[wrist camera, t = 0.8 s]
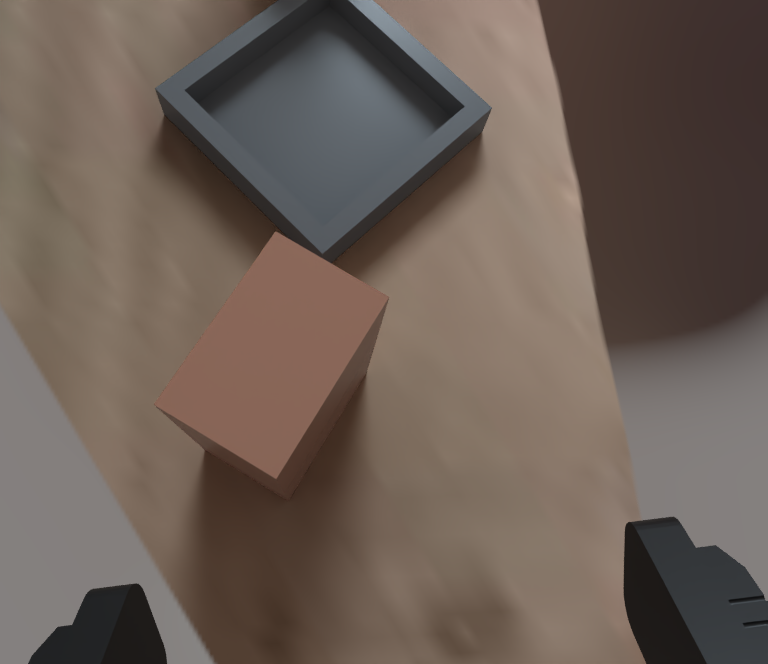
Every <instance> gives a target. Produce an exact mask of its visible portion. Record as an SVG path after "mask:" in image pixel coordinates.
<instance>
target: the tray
mask: <svg viewBox="0 0 768 664" xmlns="http://www.w3.org/2000/svg"><path fill="white" fill-rule="evenodd" d="M155 89H156V92H157V95H158V98H159V101H160V104H161V107H162V110H163V113H164V115H165V116H167V117H168V118H169V119H170V120H171V121H172V122H173V123H174V124H175V125H176V126H177V127H178V128H179V129H180V130H181V131H182V132H183V133H184V134H185V135H186V136H187V137H188V138H189V139H190V140H191V141H192V142H193V143H194V144H195V145H196V146H197V147H198V148H199V149H200V150H201V151H202V152H203V153H204V154H205V155H206V156H207V157H208V158H209V159H210V160H211V161H212V162H213V163H214V164H215V165H216V166H217V167H218V168H219V169H220V170H221V171H222V172H223V173H224V174H225V175H226V176H227V177H228V178H229V179H230V180H231V181H232V182H233V183H234V184H235V185H236V186H237V187H238V188H239V189H240V190H241V191H242V192H243V193H244V194H245V195H246V196H247V197H248V198H249V199H250V200H251V201H252V202H253V203H254V204H255V205H256V206H257V207H258V208H259V209H260V210H261V211H262V212H263V213H264V214H265V215H266V216H267V217H268V218H269V219H270V220H271V221H272V222H273V223H274V224H275V225H276V226H277V227H278V228H279V229H280V230H281V231H282V232H283V233H284V234H285V235H286V236H287V237H288V238H289V239H290V240H292V241H293V242H295V243H297V244H299V245H300V246H302V247H304V248H305V249H307V250H309V251H311V252H312V253H314V254H316V255H318V256H319V257H321V258H323V259H324V260H326V261H328V262H330V263H332V262H333V261H334V260H335V259H336V258H338V257H339V256H340V255H341V254H342V253H343V252H344V251H346V250H347V249H348V248H349V247H350V246H351V245H352V244H354V243H355V242H356V241H357V240H358V239H359V238H361V237H362V236H363V235H364V234H365V233H366V232H367V231H369V230H370V229H371V228H372V227H373V226H374V225H375V224H377V223H378V222H379V221H380V220H381V219H382V218H384V217H385V216H386V215H387V214H388V213H389V212H390V211H392V210H393V209H394V208H395V207H396V206H397V205H398V204H400V203H401V202H402V201H403V200H404V199H405V198H407V197H408V196H409V195H410V194H411V193H412V192H413V191H415V190H416V189H417V188H418V187H419V186H420V185H421V184H423V183H424V182H425V181H426V180H427V179H428V178H430V177H431V176H432V175H433V174H434V173H435V172H436V171H438V170H439V169H440V168H441V167H442V166H443V165H444V164H446V163H447V162H448V161H449V160H450V159H451V158H452V157H454V156H455V155H456V154H457V153H458V152H459V151H461V150H462V149H463V148H464V147H465V146H466V145H467V144H469V143H470V142H471V141H472V140H473V139H474V138H475V137H477V136H478V135H479V134H480V133H481V132H482V131H483V129H484V126H485V124H486V121H487V119H488V116H489V114H490V112H491V109H492V107H490V106H489V105H488V104H487V103H486V102H485V101H484V100H483V99H482V98H480V97H479V96H478V95H477V94H476V93H475V92H474V91H473V90H472V89H470V88H469V87H468V86H467V85H466V84H465V83H464V82H463V81H462V80H461V79H459V78H458V77H457V76H456V75H455V74H454V73H453V72H452V71H451V70H449V69H448V68H447V67H446V66H445V65H444V64H443V63H442V62H441V61H440V60H438V59H437V58H436V57H435V56H434V55H433V54H432V53H431V52H430V51H428V50H427V49H426V48H425V47H424V46H423V45H422V44H421V43H420V42H418V41H417V40H416V39H415V38H414V37H413V36H412V35H411V34H410V33H409V32H407V31H406V30H405V29H404V28H403V27H402V26H401V25H400V24H399V23H397V22H396V21H395V20H394V19H393V18H392V17H391V16H390V15H389V14H388V13H386V12H385V11H384V10H383V9H382V8H381V7H380V6H379V5H378V4H376V3H375V2H374V1H373V0H278V1H276V2H275V3H274V4H272V5H271V6H269V7H268V8H267V9H265V10H264V11H262V12H261V13H260V14H258V15H257V16H255V17H254V18H253V19H251V20H250V21H248V22H247V23H246V24H244V25H243V26H241V27H240V28H239V29H237V30H236V31H234V32H233V33H232V34H230V35H229V36H228V37H226V38H225V39H223V40H222V41H221V42H219V43H218V44H216V45H215V46H214V47H212V48H211V49H209V50H208V51H207V52H205V53H204V54H202V55H201V56H200V57H198V58H197V59H195V60H194V61H193V62H191V63H190V64H188V65H187V66H186V67H184V68H183V69H181V70H180V71H179V72H177V73H176V74H174V75H173V76H172V77H170V78H169V79H167V80H166V81H165V82H163V83H162V84H160V85H159V86H158V87H156V88H155Z"/></svg>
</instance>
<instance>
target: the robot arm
mask: <svg viewBox="0 0 768 664" xmlns="http://www.w3.org/2000/svg"><path fill="white" fill-rule="evenodd" d="M624 601H625V607H626V612H627V616H628V620H629V623H630V626H631V629H632V631H633V634H634V636H635V639H636V641H637V643H638V645H639V648H640V650H641V652H642V655H643V657H644V659H645V661H646V664H768V601H765V598H764V594H763V593H762V591H761V590H760V589H759V587H758V586H757V584H756V583H755V581H754V580H753V578H752V577H751V576H750V574H749V573H748V571H747V570H746V568H745V567H744V566H742V565H741V564H740V563H738V562H737V561H736V560H735V559H733V558H732V557H730V556H729V555H728V554H727V553H725V552H724V551H723V550H721V549H720V548H719V547H717V546H716V545H715V546H708V547H700V548H696V547H695V546H694V544H693V542H692V541H691V539H690V538H689V536H688V535H687V533H686V531H685V529H684V528H683V526H682V525H681V523H680V522H679V521H678V519H676V518H675V517H666V518H658V519H651V520H643V521H635V522H628V523H627V524H626V527H625V547H624ZM28 664H167V659H166V652H165V648H164V645H163V642H162V639H161V637H160V634H159V631H158V628H157V626H156V623H155V620H154V617H153V615H152V612H151V609H150V607H149V604H148V601H147V599H146V596H145V593H144V591H143V589H142V587H141V586H140V585H139V584H129V585H121V586H113V587H106V588H97V589H92V590H90V591H89V592H88V593H87V594H86V596H85V598H84V600H83V602H82V604H81V606H80V609H79V611H78V613H77V615H76V618H75V620H74V622H73V624H72V625H69V626H61V627H57V628H56V630H55V631H54V632H53V633H52V634H51V635H50V636H49V637H48V638H47V640H46V641H45V642H44V643H43V644H42V645H41V646H40V647H39V648H38V650H37V651H36V652H35V653H34V654H33V655H32V657H31V659H30V661H29V663H28Z"/></svg>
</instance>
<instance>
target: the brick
mask: <svg viewBox="0 0 768 664" xmlns="http://www.w3.org/2000/svg"><path fill="white" fill-rule="evenodd" d="M388 300H389V297H388V296H386V295H385V294H383V293H381V292H379V291H378V290H376V289H374V288H373V287H371V286H369V285H367V284H366V283H364V282H362V281H361V280H359V279H357V278H355V277H354V276H352V275H350V274H349V273H347V272H345V271H343V270H342V269H340V268H338V267H336V266H335V265H333V264H331V263H330V262H328V261H326V260H324V259H323V258H321V257H319V256H318V255H316V254H314V253H312V252H311V251H309V250H307V249H305V248H304V247H302V246H300V245H299V244H297V243H295V242H293V241H292V240H290V239H288V238H287V237H285V236H283V235H281V234H280V233H278V232H276V231H275V233H274V234H273V235H272V237H271V238H270V240H269V241H268V243H267V244H266V245H265V247H264V248H263V250H262V251H261V253H260V254H259V255H258V257H257V258H256V260H255V261H254V262H253V264H252V265H251V267H250V268H249V270H248V271H247V272H246V274H245V275H244V277H243V278H242V280H241V281H240V282H239V284H238V285H237V287H236V288H235V289H234V291H233V292H232V294H231V295H230V297H229V298H228V299H227V301H226V302H225V304H224V305H223V307H222V308H221V309H220V311H219V312H218V314H217V315H216V316H215V318H214V319H213V321H212V322H211V324H210V325H209V326H208V328H207V329H206V331H205V332H204V334H203V335H202V336H201V338H200V339H199V341H198V342H197V344H196V345H195V346H194V348H193V349H192V351H191V352H190V353H189V355H188V356H187V358H186V359H185V361H184V362H183V363H182V365H181V366H180V368H179V369H178V371H177V372H176V373H175V375H174V376H173V378H172V379H171V380H170V382H169V383H168V385H167V386H166V388H165V389H164V390H163V392H162V393H161V395H160V396H159V398H158V399H157V400H156V402H155V403H154V405H155V406H156V407H157V408H158V409H159V410H160V411H161V412H163V413H164V414H165V415H166V416H167V417H168V418H169V419H171V420H172V421H173V422H174V423H175V424H176V425H177V426H178V427H180V428H181V429H182V430H183V431H184V432H185V433H186V434H187V435H189V436H190V437H191V438H192V439H193V440H194V441H195V442H196V443H198V444H199V445H200V446H201V447H202V448H203V449H204V450H206V451H207V452H209V453H211V454H212V455H214V456H216V457H217V458H219V459H221V460H222V461H224V462H225V463H227V464H229V465H230V466H232V467H234V468H235V469H237V470H239V471H240V472H242V473H243V474H245V475H247V476H248V477H250V478H252V479H253V480H255V481H257V482H258V483H260V484H262V485H263V486H265V487H266V488H268V489H270V490H271V491H273V492H275V493H276V494H278V495H280V496H281V497H283V498H284V499H286V500H288V501H289V499H290V498H291V496H292V494H293V493H294V491H295V489H296V488H297V486H298V484H299V483H300V481H301V480H302V478H303V476H304V475H305V473H306V471H307V470H308V468H309V466H310V465H311V463H312V461H313V460H314V458H315V457H316V455H317V453H318V452H319V450H320V448H321V447H322V445H323V443H324V442H325V440H326V438H327V437H328V435H329V434H330V432H331V430H332V429H333V427H334V425H335V424H336V422H337V420H338V419H339V417H340V416H341V414H342V412H343V411H344V409H345V407H346V406H347V404H348V402H349V401H350V399H351V397H352V396H353V394H354V393H355V391H356V389H357V388H358V386H359V384H360V383H361V381H362V379H363V378H364V376H365V375H366V373H367V370H368V366H369V363H370V360H371V356H372V353H373V350H374V346H375V343H376V340H377V336H378V333H379V330H380V326H381V323H382V320H383V316H384V313H385V310H386V306H387V303H388Z"/></svg>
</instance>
